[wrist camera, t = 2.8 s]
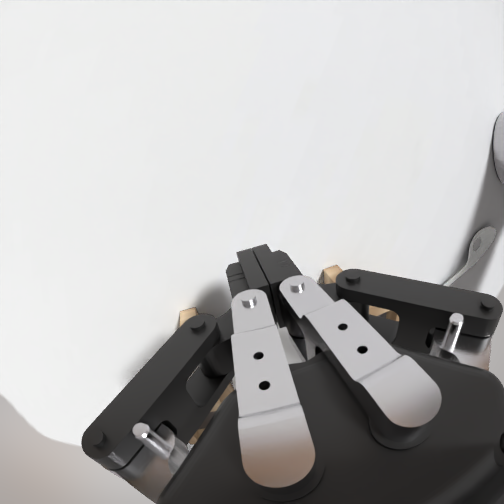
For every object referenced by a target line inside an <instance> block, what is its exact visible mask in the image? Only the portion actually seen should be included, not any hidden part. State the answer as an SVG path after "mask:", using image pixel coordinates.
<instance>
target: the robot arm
mask: <svg viewBox="0 0 504 504" xmlns="http://www.w3.org/2000/svg"><path fill="white" fill-rule="evenodd" d="M493 144H494V148H493V150H494V161H495V167H496V171H497V174H498V177H499V179H500V181H501V182H502V183H503V184H504V112H503V113H501V114H500V115H499V117H498V119H497V122H496V125H495V131H494V141H493ZM237 257H238V260H239V262H237V263H233V264H230V265H228V268H227V270H226V274H227V278H228V282H229V287H230V291H231V295H232V301H231V309H230V310H229V311H228V312H227V313H225V314H224V315H222V316H221V317H219V318H217V319H215V317H213V316H212V315H209V314H199V315H195V316H193V317H191V318H189V319H188V320H186V321H185V322H184V323H183V324H182V325H181V326H180V328H179V329H178V330H177V331H176V332H175V333H174V334H173V335H172V336H171V337H170V338H169V340H168V341H167V342H166V343H165V344H164V345H163V346H162V347H161V348H160V349H159V350H158V352H157V353H156V354H155V355H154V356H153V357H152V358H151V359H150V360H149V361H148V362H147V364H146V365H145V366H144V367H143V368H142V369H141V370H140V371H139V372H138V373H137V374H136V376H135V377H134V378H133V379H132V380H131V381H130V382H129V383H128V384H127V385H126V387H125V388H124V389H123V390H122V391H121V392H120V393H119V394H118V395H117V396H116V397H115V399H114V400H113V401H112V402H111V403H110V404H109V405H108V406H107V407H106V408H105V409H104V411H103V412H102V413H101V414H100V415H99V416H98V417H97V418H96V419H95V420H94V422H93V423H92V424H91V425H90V426H89V427H88V428H87V429H86V431H85V432H84V434H83V437H82V448H83V451H84V452H85V454H86V455H88V456H89V457H90V458H92V459H93V460H95V461H96V462H98V463H99V464H101V465H102V466H103V467H104V468H105V469H107V470H109V471H110V472H112V473H114V474H115V475H117V476H118V477H120V478H122V479H124V480H125V481H127V482H128V483H129V484H130V485H131V486H133V487H134V488H135V489H137V490H138V491H139V492H140V493H142V494H143V495H145V496H146V497H147V498H149V499H150V500H151V501H153V502H154V503H156V504H504V388H503V385H502V384H501V382H500V381H499V379H498V378H497V377H496V376H495V375H494V374H492V373H491V372H489V363H490V352H491V338H492V336H493V334H494V331H495V329H496V327H497V325H498V322H499V319H500V317H501V314H502V311H503V308H502V305H501V303H500V301H499V300H498V299H497V298H495V297H494V296H491V295H489V294H484V293H479V292H474V291H469V290H464V289H458V288H453V287H448V286H443V285H438V284H433V283H428V282H422V281H417V280H412V279H407V278H402V277H396V276H391V275H386V274H381V273H376V272H370V271H365V270H360V269H348V270H345V271H342V272H340V273H339V274H338V275H337V276H336V283H329V284H317V283H316V282H315V281H314V280H313V279H312V278H310V277H308V276H303V275H302V274H301V272H300V271H299V269H298V268H297V267H296V265H295V264H294V263H293V261H292V260H291V259H290V257H289V256H288V255H287V253H284V252H282V251H280V250H278V251H275V252H271V250H270V249H269V247H268V246H267V244H264V245H260V246H257V247H253V248H252V249H251V248H250V249H246V250H243V251H239V252H237ZM369 305H370V306H374V307H378V308H382V309H387V310H391V311H394V312H395V313H396V314H397V315H398V316H399V321H394V320H390V319H386V318H382V317H378V316H374V315H370V314H369ZM277 323H278V325H279V328H283V327H286V328H287V330H288V335H289V340H290V342H291V343H292V345H293V347H294V348H295V350H296V352H297V353H298V355H299V357H300V358H301V360H302V362H301V363H293V364H288V362H287V358H286V355H285V352H284V349H283V345H282V342H281V339H280V335H279V332H278V325H277ZM197 366H199V367H198V368H197ZM196 368H197V370H196V371H195V372H194V374H193V375H192V376H191V377H190V379H189V380H188V378H189V376H190V375H191V374H192V373H193V371H194V370H195V369H196ZM234 376H235V381H236V389H235V390H234V391H232V392H231V393H230V394H229V395H228V396H227V397H226V398H225V399H224V400H223V401H222V403H221V404H220V406H219V407H218V409H217V410H216V412H215V414H214V415H213V417H212V418H211V420H210V421H209V423H208V425H207V426H206V428H205V429H204V431H203V432H202V434H201V435H200V437H199V438H198V440H197V441H196V443H195V445H194V446H193V448H192V449H191V451H190V452H189V451H188V448H187V446H186V445H187V444H188V442H189V441H190V440H191V438H192V437H193V435H194V434H195V433H196V431H197V430H198V428H199V427H200V426H201V424H202V423H203V421H204V420H205V419H206V417H207V416H208V414H209V413H210V411H211V410H212V408H213V407H214V406H215V404H216V403H217V401H218V400H219V398H220V397H221V395H222V394H223V392H224V391H225V389H226V388H227V386H228V385H229V383H230V382H231V380H232V379H233V377H234ZM187 380H188V381H187Z"/></svg>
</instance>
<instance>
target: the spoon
mask: <svg viewBox="0 0 504 504" xmlns="http://www.w3.org/2000/svg"><path fill="white" fill-rule="evenodd" d="M496 232H497V231H496V229H495V228H494V227H492V226H488V227H485V228H483V229H481V230H480V231H479V232H477V233H476V234H475V236H474V238H473V239H472V241H471V244H470V248H469V255H468V261H467V263H466V265H465V266H464V267H463V268H462V269H461V270H460V271H459V272H458V273H457V274H455V275H454V276H453V277H452V278H451V279H450V280H448V281H447V282H446V283H445V284H443V286H448V287H449V286H450V285H451V284H452V283H453V282H454V281H455V280H457V279H458V278H459V277H460V276H462V275H463V274H464V273H465V272H466V271H468V270H469V269H470V268H471V267H472V266H473V265H475V264H476V262H477V261H478V260H479V259H480V258H481V256H482V255H483V254H484V253H485V252H486V250H487V249H488V248H489V247H490V245H491V244H492V242H493V241H494V238H495V236H496ZM478 238H480V239H481V243H480V246H479V248H478V249H477V251H474V250H473V246H474V242H475V241H476V240H477V239H478Z"/></svg>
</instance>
